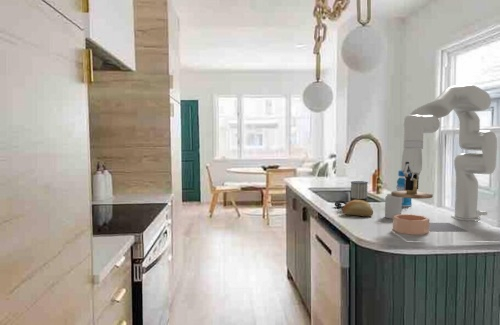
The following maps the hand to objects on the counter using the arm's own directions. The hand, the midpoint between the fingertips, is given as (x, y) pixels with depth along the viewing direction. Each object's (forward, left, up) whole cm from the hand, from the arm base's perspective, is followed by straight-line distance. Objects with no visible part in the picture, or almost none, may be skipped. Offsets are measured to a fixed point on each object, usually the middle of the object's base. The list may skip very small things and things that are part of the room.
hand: (411, 189), depth 173 cm
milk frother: (+11, -55, -18) cm, 59 cm away
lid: (0, 0, -3) cm, 3 cm away
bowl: (0, 0, -18) cm, 18 cm away
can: (-2, -27, -18) cm, 33 cm away
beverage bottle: (-21, -64, -18) cm, 70 cm away
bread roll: (+13, -35, -18) cm, 42 cm away
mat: (-16, -7, -18) cm, 25 cm away
